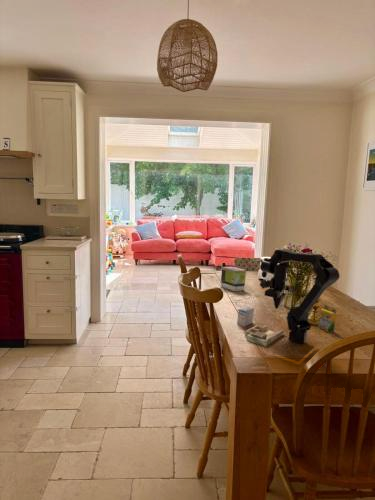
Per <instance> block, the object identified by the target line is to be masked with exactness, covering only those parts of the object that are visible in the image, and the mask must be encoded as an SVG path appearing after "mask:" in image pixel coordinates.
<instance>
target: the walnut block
mask: <svg viewBox="0 0 375 500" xmlns="http://www.w3.org/2000/svg"><path fill="white" fill-rule="evenodd" d="M252 336H253V337H256V338H260V339H263V340H266V338H267V334H265V333H261V332H260V331H259V332H258V331H257V332H256V333H254V334H252Z"/></svg>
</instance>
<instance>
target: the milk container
mask: <svg viewBox="0 0 375 500" xmlns="http://www.w3.org/2000/svg"><path fill="white" fill-rule="evenodd" d="M271 257H272V256H261V257H260V261H259V266H260V265H261V263H262V262H263V261H264V258H269V259H270V258H271ZM273 276H274V273H273V274H271V273H267V272H264V271H262V270H261V268H260V267H259V269H258V271H257V277H258V279H259V278H260V280H261V279H263V280H271V278H272V277H273Z"/></svg>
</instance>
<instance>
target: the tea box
mask: <svg viewBox="0 0 375 500" xmlns="http://www.w3.org/2000/svg"><path fill="white" fill-rule="evenodd" d="M246 273H247V270H246V269H244V268H240V267H235V266H222V267H221V276H220V288H222V289H226V290H230V291H232V292H243V291H244V290H245V287H246V275H247V274H246ZM242 290H243V291H242Z"/></svg>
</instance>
